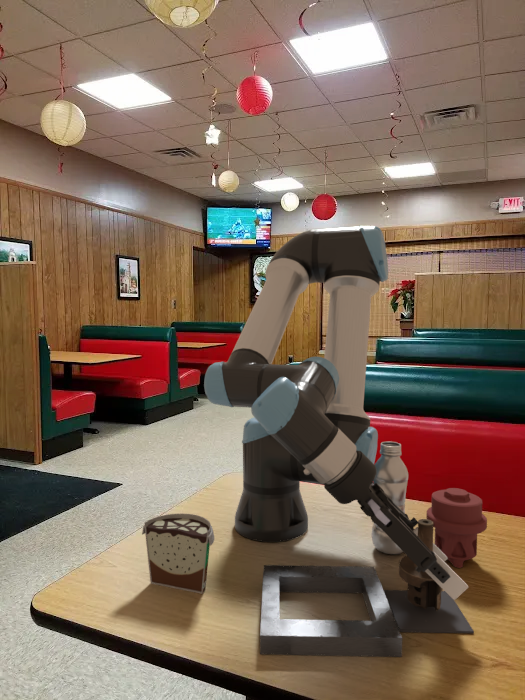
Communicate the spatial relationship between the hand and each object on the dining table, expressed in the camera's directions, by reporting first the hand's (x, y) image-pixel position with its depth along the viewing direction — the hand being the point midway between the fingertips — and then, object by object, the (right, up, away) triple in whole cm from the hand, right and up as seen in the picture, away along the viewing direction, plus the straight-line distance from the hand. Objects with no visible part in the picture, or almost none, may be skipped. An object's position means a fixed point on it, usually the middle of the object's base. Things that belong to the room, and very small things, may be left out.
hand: (449, 576), depth 72 cm
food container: (-40, -5, +9) cm, 42 cm away
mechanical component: (+7, -4, +16) cm, 18 cm away
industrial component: (-4, -4, 0) cm, 5 cm away
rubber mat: (-3, -5, 0) cm, 6 cm away
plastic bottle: (-4, -4, +19) cm, 20 cm away
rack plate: (-18, -5, 0) cm, 19 cm away
